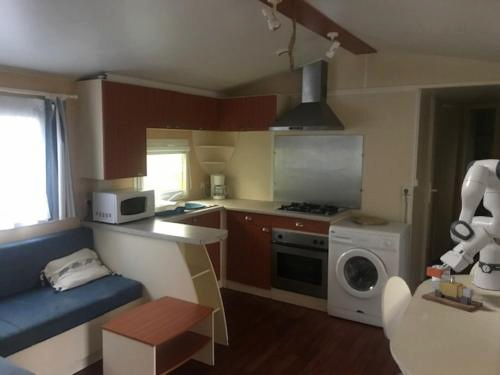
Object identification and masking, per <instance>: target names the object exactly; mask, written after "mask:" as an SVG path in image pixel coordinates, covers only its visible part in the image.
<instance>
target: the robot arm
mask: <svg viewBox="0 0 500 375" xmlns="http://www.w3.org/2000/svg"><path fill="white" fill-rule="evenodd" d="M462 182H463V183H462V185H461V210H460V211H461V212H460V214H459V218H458V220H455V221H453V222H452V223H451V225H450V228H449V229H450V230H449V231H450V239H451V241H452V242H454V244H456V246H455V247H453V249H452V250H449V251H447V252H446V253H444V254H443V255H441V257H440V260H441V262H442V263H443V264H442V265H441V266H442V268H440V269H443V273H445V272H446V271H448V270H450V271H451V269H452V270H453V271H454V272H456V273H460V272H462V271H463V270H465V269H466V268H467V267H469V265H472V264H473V263H474V257H475V255H476V254H477V253H479V260H478V266H477V268H476V269H475V272H474V273H475V274H474V279H473V280H471V284H473V285H475V286H476V287H478V288H481V289H485V290H491V291H500V245H499V244H498V243H496V241H495V239H500V159H493V158H492V159H491V158H490V159H489V158H488V159H481V160H479V159H476V160H472V161H470V162H469V164H468V165H467V168H466V174H465V177H464V179H463V181H462ZM482 199H483V202H482V203H483V207H484V208H485V209H486V210H488V211H489V212H490V213H491V216H492V217H490V216H479V215H478V216H475V213H476V210H477V208H478V206H479V205H480V203H481V200H482Z"/></svg>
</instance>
